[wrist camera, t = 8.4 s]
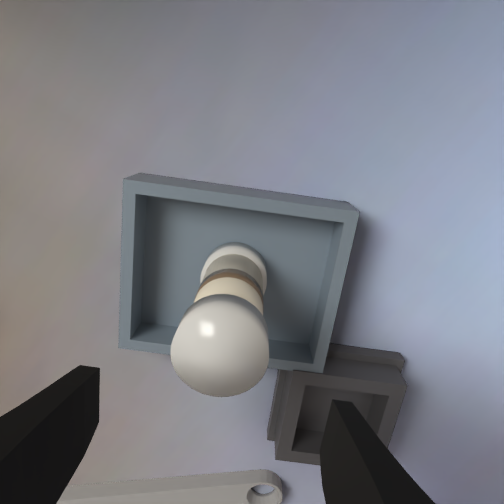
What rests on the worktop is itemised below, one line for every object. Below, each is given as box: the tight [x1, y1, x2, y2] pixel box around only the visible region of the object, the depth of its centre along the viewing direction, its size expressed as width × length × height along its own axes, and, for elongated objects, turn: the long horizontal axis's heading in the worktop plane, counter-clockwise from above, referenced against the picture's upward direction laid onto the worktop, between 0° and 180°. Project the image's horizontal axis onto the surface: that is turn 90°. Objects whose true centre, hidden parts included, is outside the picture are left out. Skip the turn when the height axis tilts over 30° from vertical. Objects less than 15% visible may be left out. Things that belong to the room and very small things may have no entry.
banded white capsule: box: [171, 242, 269, 397], centre depth 17 cm, size 3×3×8 cm
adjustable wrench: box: [56, 469, 282, 504], centre depth 27 cm, size 25×6×2 cm, turn 93°
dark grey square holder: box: [267, 343, 407, 465], centre depth 22 cm, size 7×7×3 cm
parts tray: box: [118, 173, 360, 373], centre depth 20 cm, size 11×9×2 cm
